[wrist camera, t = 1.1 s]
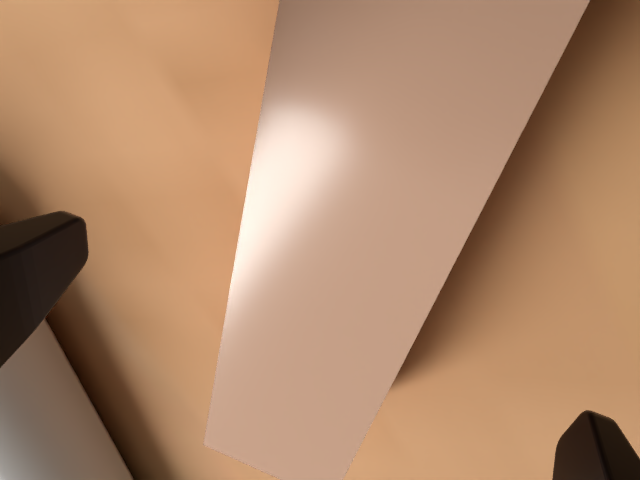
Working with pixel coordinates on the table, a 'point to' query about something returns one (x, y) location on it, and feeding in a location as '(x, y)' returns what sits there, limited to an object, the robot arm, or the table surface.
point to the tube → (51, 419)
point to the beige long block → (364, 207)
